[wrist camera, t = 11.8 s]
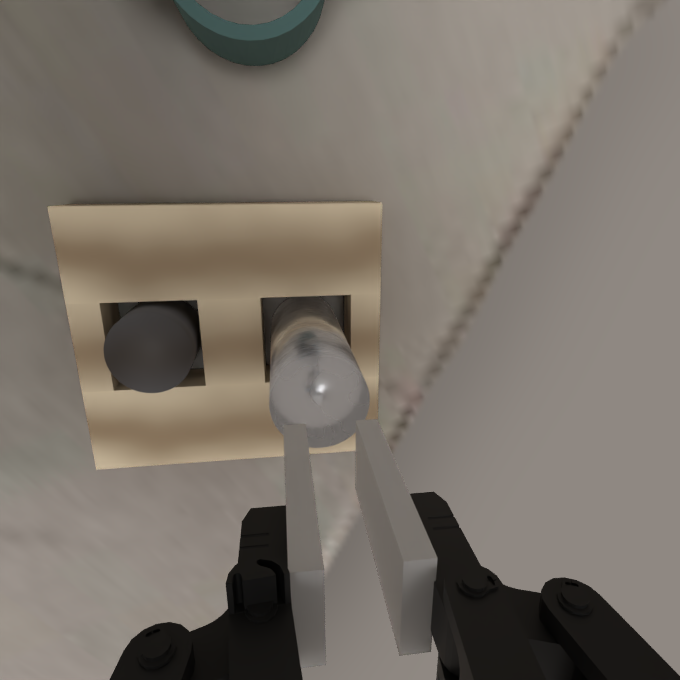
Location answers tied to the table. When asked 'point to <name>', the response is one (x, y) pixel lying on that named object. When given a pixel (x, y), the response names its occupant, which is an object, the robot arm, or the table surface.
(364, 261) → the jig
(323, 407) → the metal cylinder
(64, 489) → the table surface
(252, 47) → the bracket
